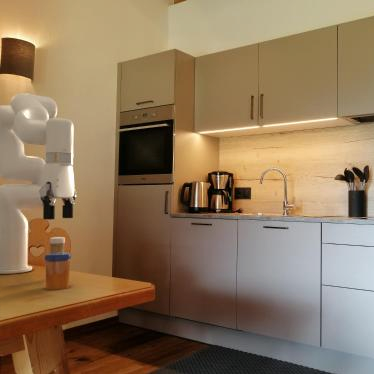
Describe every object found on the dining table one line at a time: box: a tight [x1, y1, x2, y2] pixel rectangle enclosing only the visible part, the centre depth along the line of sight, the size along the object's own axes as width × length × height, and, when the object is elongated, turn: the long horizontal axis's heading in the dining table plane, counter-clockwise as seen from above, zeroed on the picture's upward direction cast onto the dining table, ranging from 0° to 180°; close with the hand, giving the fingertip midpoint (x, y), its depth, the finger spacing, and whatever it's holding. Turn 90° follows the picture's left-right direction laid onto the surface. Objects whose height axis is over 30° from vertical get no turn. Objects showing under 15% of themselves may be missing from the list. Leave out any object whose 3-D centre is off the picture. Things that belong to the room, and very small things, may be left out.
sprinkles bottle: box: [49, 236, 66, 253], centre depth 138 cm, size 5×5×13 cm
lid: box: [44, 251, 72, 262], centre depth 124 cm, size 7×7×2 cm
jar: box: [45, 259, 71, 291], centre depth 124 cm, size 6×6×9 cm
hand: (58, 218), depth 124 cm, fingers open, 8 cm apart
